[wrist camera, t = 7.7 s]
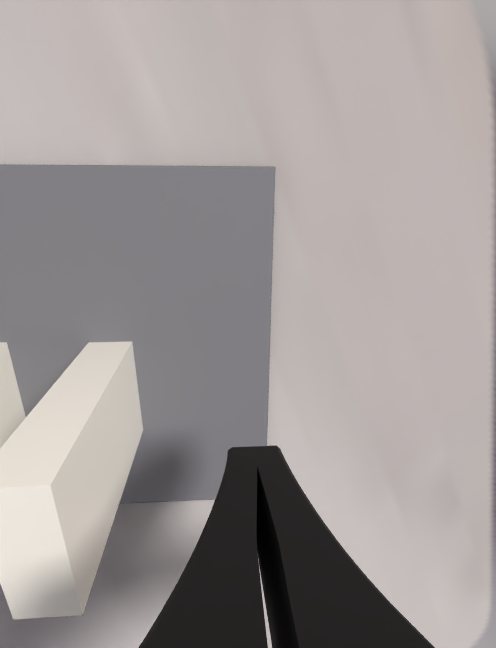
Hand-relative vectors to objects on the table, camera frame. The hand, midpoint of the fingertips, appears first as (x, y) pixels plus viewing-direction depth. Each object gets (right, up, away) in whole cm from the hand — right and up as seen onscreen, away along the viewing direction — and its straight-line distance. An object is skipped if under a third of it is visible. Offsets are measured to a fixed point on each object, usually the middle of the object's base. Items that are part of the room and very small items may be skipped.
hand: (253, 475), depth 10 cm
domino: (-5, +2, +4) cm, 7 cm away
